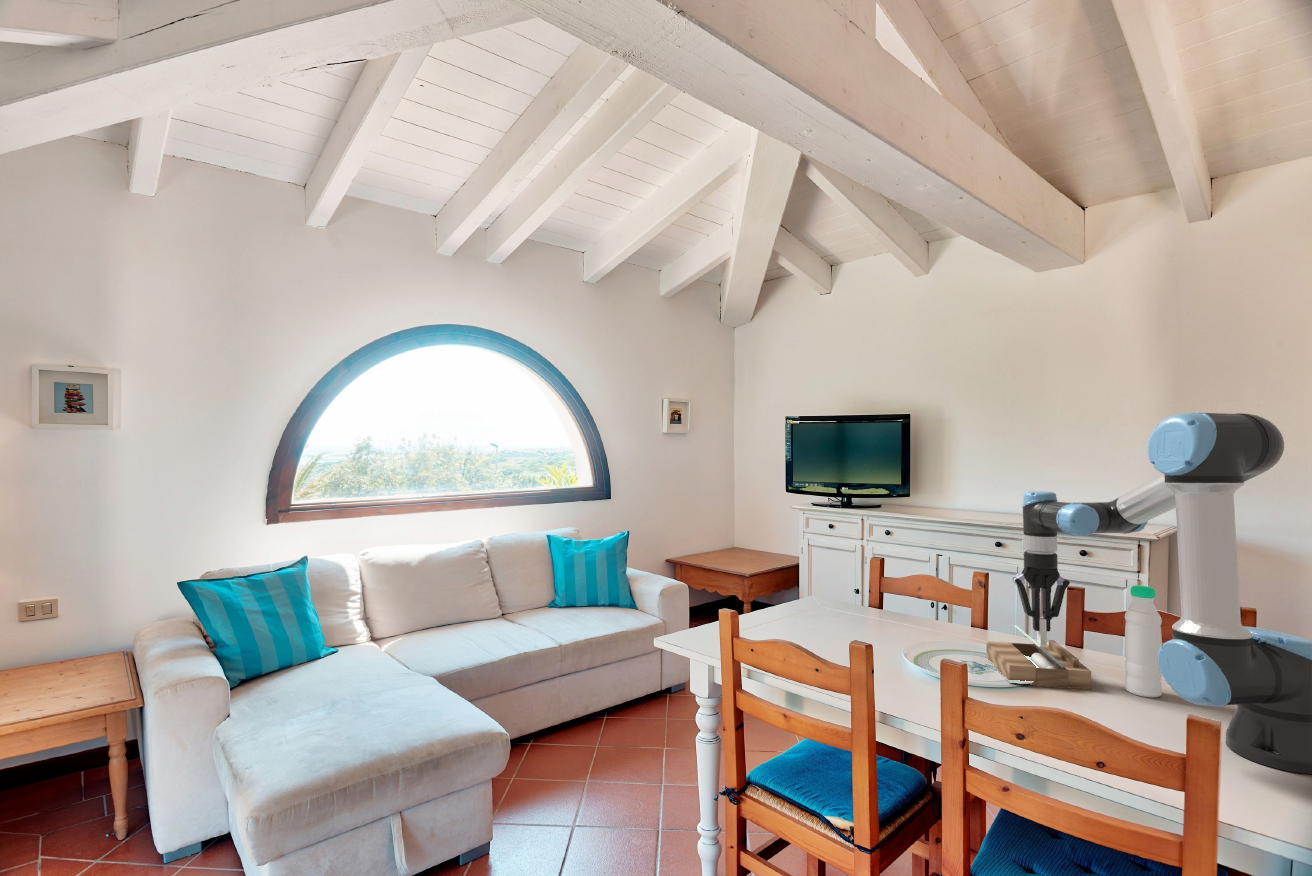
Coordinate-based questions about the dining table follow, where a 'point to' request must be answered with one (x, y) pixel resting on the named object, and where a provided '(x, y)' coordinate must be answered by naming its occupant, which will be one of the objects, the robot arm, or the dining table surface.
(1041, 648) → the cover
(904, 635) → the dining table surface
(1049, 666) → the white rounded cylinder
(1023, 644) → the wooden tray
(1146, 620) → the water bottle
